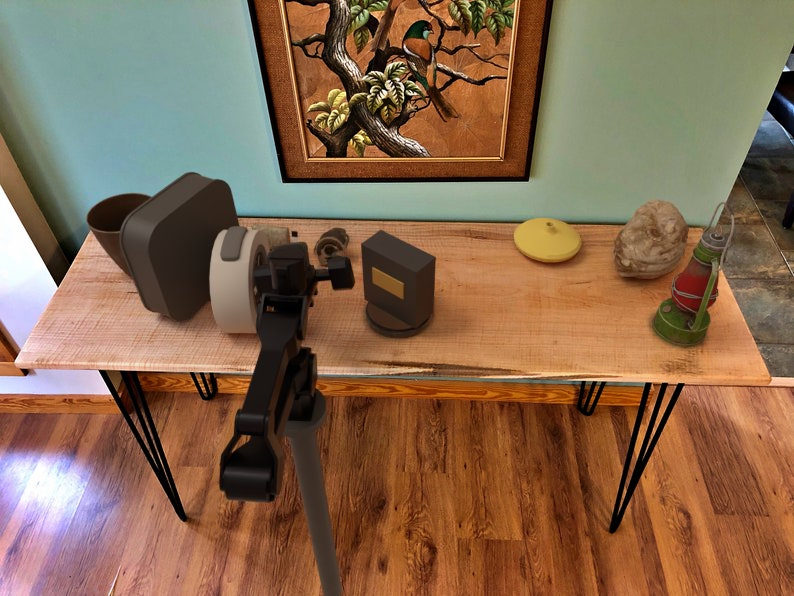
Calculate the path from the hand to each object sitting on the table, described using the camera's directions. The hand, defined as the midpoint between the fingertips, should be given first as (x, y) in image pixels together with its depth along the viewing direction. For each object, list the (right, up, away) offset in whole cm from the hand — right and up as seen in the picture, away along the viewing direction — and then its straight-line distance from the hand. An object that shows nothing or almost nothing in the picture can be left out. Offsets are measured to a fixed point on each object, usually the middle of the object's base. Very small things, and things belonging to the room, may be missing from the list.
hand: (312, 256), depth 124 cm
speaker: (-27, -7, +15) cm, 32 cm away
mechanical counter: (+2, +3, +24) cm, 25 cm away
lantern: (+75, -15, +4) cm, 77 cm away
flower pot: (-42, -2, +21) cm, 47 cm away
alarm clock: (-15, -11, +10) cm, 21 cm away
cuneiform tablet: (-12, +3, +25) cm, 28 cm away
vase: (+52, +3, +25) cm, 58 cm away
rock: (+73, -1, +19) cm, 76 cm away
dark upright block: (+17, -10, +7) cm, 21 cm away
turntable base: (+17, -12, +8) cm, 22 cm away
